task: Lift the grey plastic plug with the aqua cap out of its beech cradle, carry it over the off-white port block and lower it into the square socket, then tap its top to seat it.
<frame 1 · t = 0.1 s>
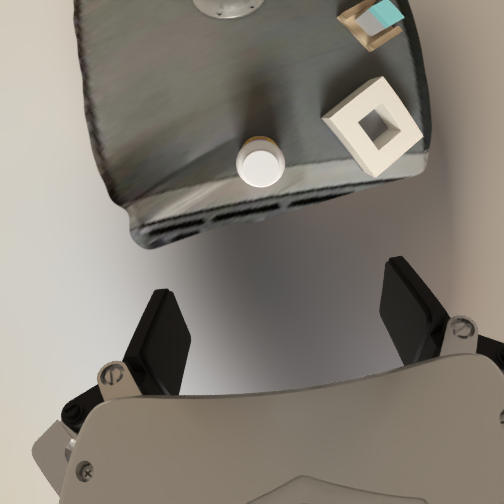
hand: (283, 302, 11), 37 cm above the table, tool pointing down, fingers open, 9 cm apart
plug: (369, 24, 30), point 1 cm above the table, touching cradle
supplement bottle: (259, 154, 44), on the table
port block: (366, 124, 40), on the table
cradle: (367, 25, 31), on the table
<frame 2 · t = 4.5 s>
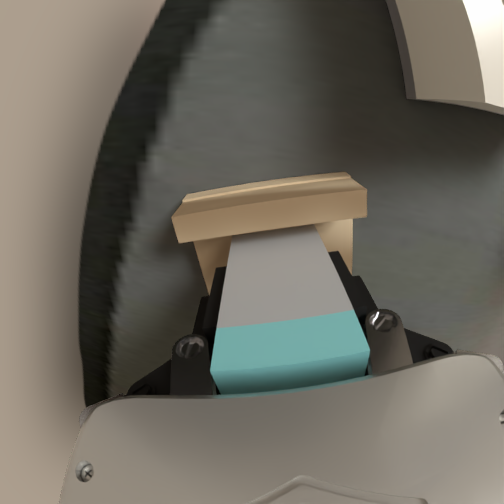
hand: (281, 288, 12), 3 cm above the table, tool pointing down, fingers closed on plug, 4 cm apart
plug: (278, 265, 14), point 1 cm above the table, touching cradle, gripper
port block: (463, 23, 7), on the table
cradle: (276, 255, 15), on the table
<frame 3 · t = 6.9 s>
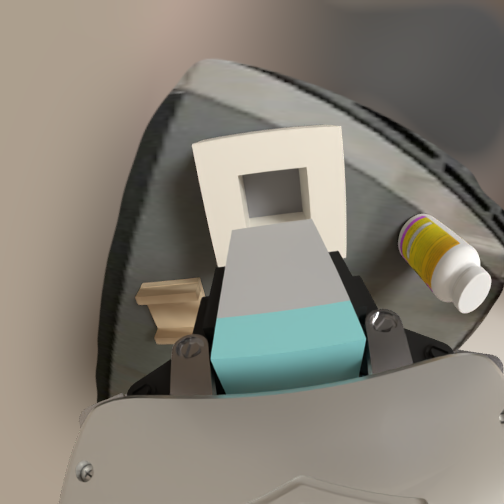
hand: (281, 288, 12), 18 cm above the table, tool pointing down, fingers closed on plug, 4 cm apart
plug: (276, 259, 14), point 15 cm above the table, touching gripper
supplement bottle: (416, 235, 30), on the table
port block: (272, 186, 28), on the table
cradle: (179, 306, 35), on the table
when the fingers open (7 cm above the table, at t = 9.2 s): plug drops 3 cm, resting on port block.
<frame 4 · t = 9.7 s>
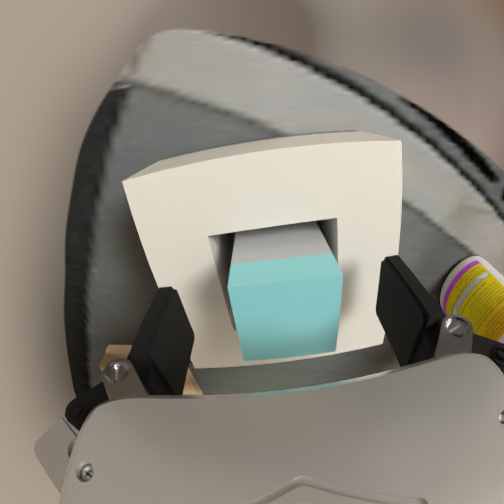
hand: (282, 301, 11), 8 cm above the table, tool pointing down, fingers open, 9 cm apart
plug: (275, 235, 17), point 1 cm above the table, touching port block
supplement bottle: (461, 282, 20), on the table
port block: (272, 229, 18), on the table
cradle: (156, 371, 26), on the table
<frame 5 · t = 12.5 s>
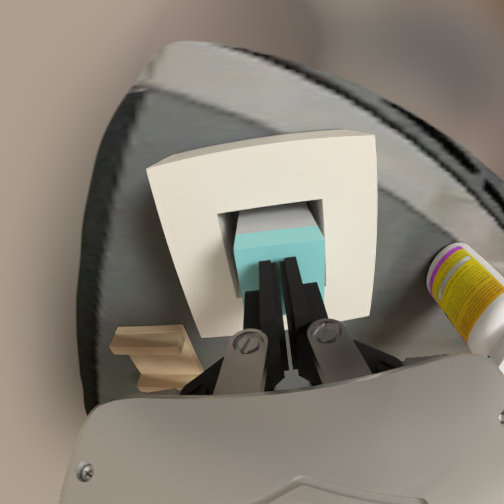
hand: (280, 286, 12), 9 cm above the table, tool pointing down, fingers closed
plug: (272, 219, 20), point 1 cm above the table, touching port block
supplement bottle: (447, 267, 23), on the table
port block: (270, 215, 21), on the table
cradle: (162, 352, 28), on the table
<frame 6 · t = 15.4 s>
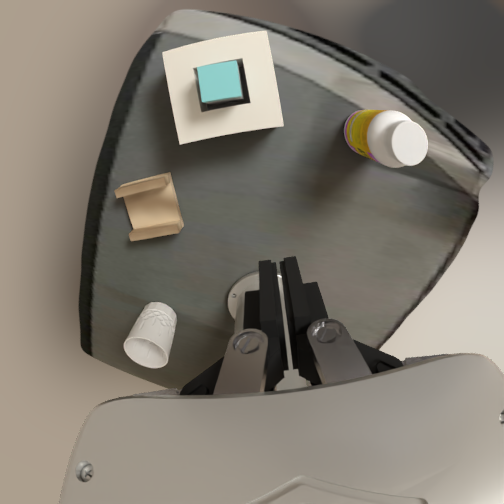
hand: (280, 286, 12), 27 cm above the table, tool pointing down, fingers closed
plug: (226, 88, 30), point 1 cm above the table, touching port block
supplement bottle: (363, 132, 33), on the table
port block: (226, 89, 31), on the table
cradle: (152, 204, 39), on the table
white cup: (160, 314, 49), on the table
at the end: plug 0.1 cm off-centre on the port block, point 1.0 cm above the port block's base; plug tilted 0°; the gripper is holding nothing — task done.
